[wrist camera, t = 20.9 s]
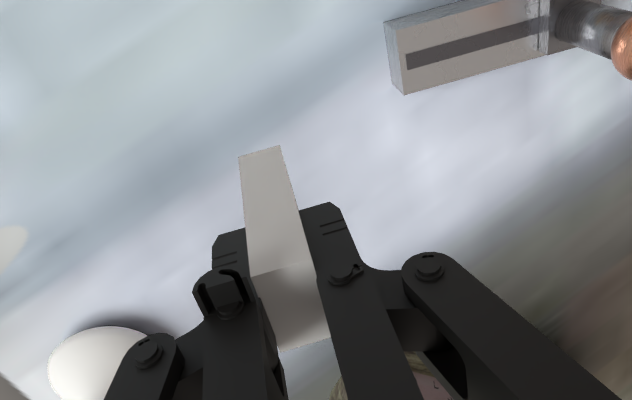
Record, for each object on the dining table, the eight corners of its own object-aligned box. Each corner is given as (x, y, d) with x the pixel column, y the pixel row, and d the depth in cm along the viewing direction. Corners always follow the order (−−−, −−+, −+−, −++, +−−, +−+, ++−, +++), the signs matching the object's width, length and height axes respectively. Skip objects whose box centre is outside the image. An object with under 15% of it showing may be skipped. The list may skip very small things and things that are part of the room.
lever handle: (537, -5, 36) (652, 26, 26) (594, -21, 36) (728, 4, 26) (536, 54, 38) (641, 101, 29) (589, 39, 38) (710, 81, 29)
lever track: (383, 22, 38) (395, 30, 35) (577, -32, 38) (604, -28, 36) (391, 83, 40) (404, 95, 38) (573, 32, 41) (598, 40, 38)
